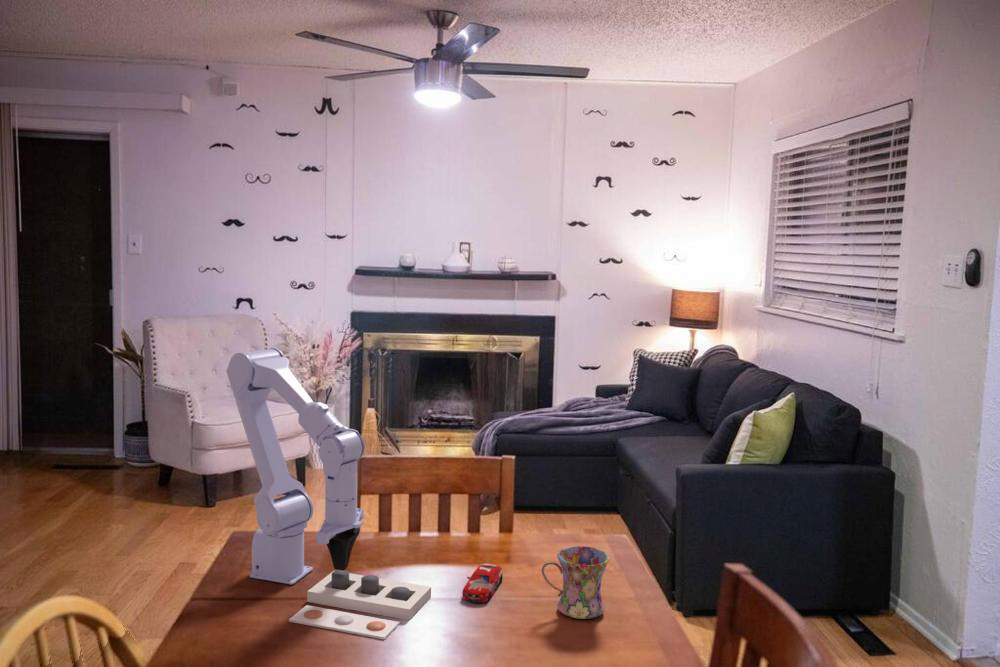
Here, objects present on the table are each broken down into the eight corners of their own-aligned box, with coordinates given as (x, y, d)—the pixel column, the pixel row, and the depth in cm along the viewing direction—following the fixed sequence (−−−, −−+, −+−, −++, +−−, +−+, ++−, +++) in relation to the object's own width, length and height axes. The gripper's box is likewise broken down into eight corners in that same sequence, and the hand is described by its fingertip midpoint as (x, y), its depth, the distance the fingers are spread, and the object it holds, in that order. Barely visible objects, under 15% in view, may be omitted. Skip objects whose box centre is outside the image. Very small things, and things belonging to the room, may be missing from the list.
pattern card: (288, 621, 152) (288, 618, 152) (306, 607, 158) (306, 603, 158) (384, 639, 147) (384, 636, 147) (399, 624, 153) (399, 620, 152)
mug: (602, 601, 165) (605, 546, 163) (610, 624, 155) (613, 566, 154) (537, 599, 164) (540, 545, 163) (542, 622, 155) (544, 565, 154)
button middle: (358, 593, 161) (358, 580, 160) (365, 586, 164) (366, 574, 163) (374, 596, 160) (374, 583, 159) (381, 589, 163) (381, 576, 162)
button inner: (328, 588, 162) (328, 575, 162) (336, 581, 165) (336, 569, 165) (344, 591, 161) (344, 578, 161) (352, 584, 164) (352, 571, 164)
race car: (486, 608, 161) (487, 587, 160) (458, 603, 162) (458, 582, 162) (506, 579, 173) (507, 560, 173) (480, 575, 175) (481, 556, 174)
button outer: (388, 605, 159) (388, 592, 159) (395, 598, 162) (395, 585, 162) (404, 608, 158) (404, 595, 158) (411, 601, 161) (411, 588, 161)
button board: (307, 601, 160) (307, 591, 160) (333, 580, 170) (333, 570, 169) (409, 620, 154) (409, 609, 154) (430, 597, 164) (431, 586, 163)
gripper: (342, 512, 153) (341, 587, 155) (378, 488, 167) (377, 557, 169) (306, 507, 155) (305, 580, 157) (344, 483, 169) (344, 552, 171)
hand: (340, 568), depth 163 cm, fingers closed
